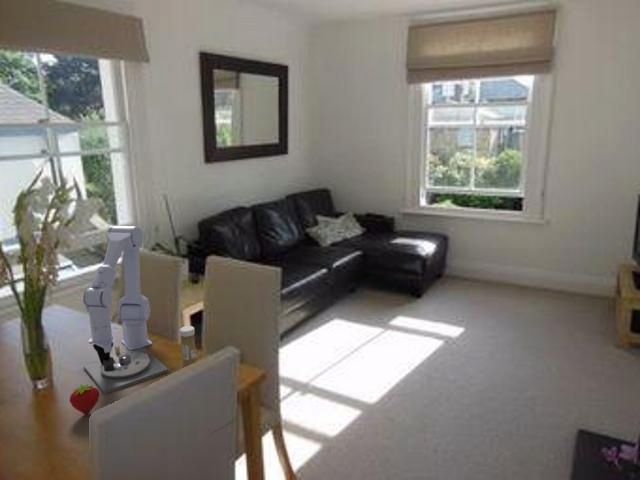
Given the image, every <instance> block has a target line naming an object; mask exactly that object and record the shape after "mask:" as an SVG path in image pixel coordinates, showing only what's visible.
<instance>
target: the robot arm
mask: <svg viewBox="0 0 640 480" xmlns="http://www.w3.org/2000/svg"><path fill="white" fill-rule="evenodd" d="M106 231H107V232H106V241H107V244H108V246H107V249H106V253H105V256H104V260H103V263H102V265H100V266H99V267H97V270H96V271H95V274H94V277H93V280H92V282H91V285H90V287H89V288H87V289H86V290H85V291H84V292H83V296H82V297H83V298H82V302H83V305H84V306H85V309H86V312H87V313H88V316H89V317H88V318H89V324H90V332H91V338H89V339H88V340H87V343H88V344H92V347H93V350H95V352H96V353H97V356H98V358H99V361H100V362H101V364H102V366H103V365H104V364H103V359H104V358H106V357H110V356H111V352H112V351H113V346H114V342H113V340H114V336H113V332H112V326H111V324H112V323H111V316H110V315H111V314H110V304H111V301H112V297H113V296H112V295H113V288H112V286H113V284H114V281H115V279H116V276H117V271H116V270H115V268H116V267H117V264H118V262H119V260H120V258H121V255H122V253H123V262H124V264H123V265H124V290H125V292H124V294H125V295H124V296H123V297H122V298H121V299H119V301H118V308H117V317H118V319H119V320H120V321H121V322H122V324H121V325H122V334H123V335H122V336H123V339H121V341H120V342H121V343H122V344H123V345H124V346H125V347H126V348H127V349H128V350H129V351H133V350H136V349H140V348H143V347H144V348H145V347H147V346H150V345H152V344H153V342H152V341H151V340H150V339H148V329H147V321H148V320H149V319H150V317H151V307H150V306H151V305H150V301H149V298H147V297H146V296H145V295H143V294H142V293H141V267H140V266H141V264H140V260H141V259H140V249H142V248H143V244H144V243H143V230H142V229H141V228H140V226H138V225H133V226H132V225H131V226H129V225H128V226H127V225H110V226H109V228H108V229H107V230H106Z"/></svg>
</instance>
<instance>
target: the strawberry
mask: <svg viewBox="0 0 640 480" xmlns="http://www.w3.org/2000/svg"><path fill="white" fill-rule="evenodd" d="M72 391H73V392H71V394H70V396H69V403H70V404H71V406H72V407H73V408H74V409H75V410H77V411H78V412H80V413H82V414H84V415H88V414H89V413H91V411H92V410H93V409H94V407H95V406H96V405H97V403H98V401H99V398H100V391H99V388H96V387H94V385H89V384H86V385H83V383H80V387H76V388H73V389H72Z"/></svg>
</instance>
